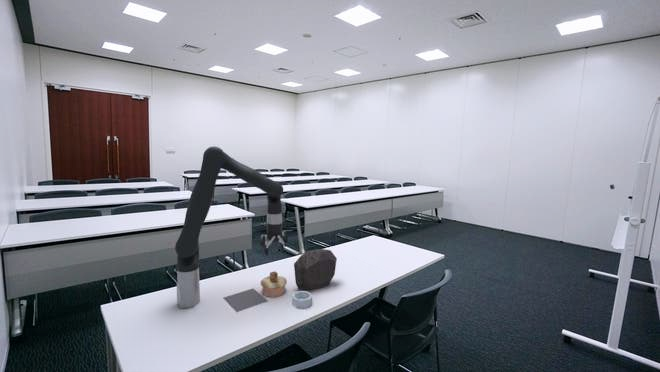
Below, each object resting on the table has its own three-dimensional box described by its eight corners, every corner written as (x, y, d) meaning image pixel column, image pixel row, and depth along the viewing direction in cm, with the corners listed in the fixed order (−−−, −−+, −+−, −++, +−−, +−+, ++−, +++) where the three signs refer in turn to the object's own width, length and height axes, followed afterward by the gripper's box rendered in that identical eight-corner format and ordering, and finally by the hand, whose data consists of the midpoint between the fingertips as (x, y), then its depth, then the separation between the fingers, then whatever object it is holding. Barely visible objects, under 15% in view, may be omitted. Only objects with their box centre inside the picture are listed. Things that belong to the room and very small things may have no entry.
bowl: (269, 299, 151) (269, 289, 150) (259, 290, 159) (259, 281, 159) (288, 292, 158) (288, 283, 157) (277, 284, 166) (277, 276, 166)
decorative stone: (299, 295, 156) (300, 257, 153) (291, 288, 163) (292, 251, 160) (339, 284, 169) (340, 249, 166) (330, 278, 176) (331, 244, 173)
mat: (236, 312, 139) (236, 312, 139) (222, 298, 151) (222, 297, 151) (268, 301, 149) (268, 301, 149) (253, 289, 161) (253, 288, 161)
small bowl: (299, 310, 142) (299, 302, 141) (289, 302, 149) (289, 294, 148) (315, 304, 148) (315, 296, 147) (304, 296, 155) (304, 289, 154)
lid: (268, 291, 149) (268, 280, 148) (256, 281, 159) (256, 271, 158) (291, 283, 157) (291, 274, 156) (278, 275, 167) (278, 265, 166)
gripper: (265, 225, 146) (264, 258, 148) (290, 221, 155) (290, 252, 157) (257, 222, 152) (257, 253, 154) (282, 218, 161) (282, 248, 163)
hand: (274, 253), depth 156 cm, fingers open, 8 cm apart
